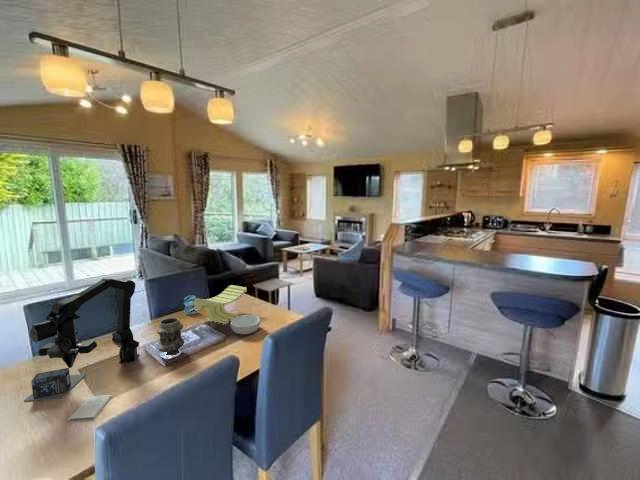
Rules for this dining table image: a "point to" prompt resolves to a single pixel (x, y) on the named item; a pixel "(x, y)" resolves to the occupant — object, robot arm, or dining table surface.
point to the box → (51, 383)
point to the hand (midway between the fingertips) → (70, 367)
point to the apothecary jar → (170, 336)
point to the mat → (73, 379)
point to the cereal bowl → (245, 324)
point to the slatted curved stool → (220, 304)
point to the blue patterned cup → (189, 305)
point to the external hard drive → (90, 408)
